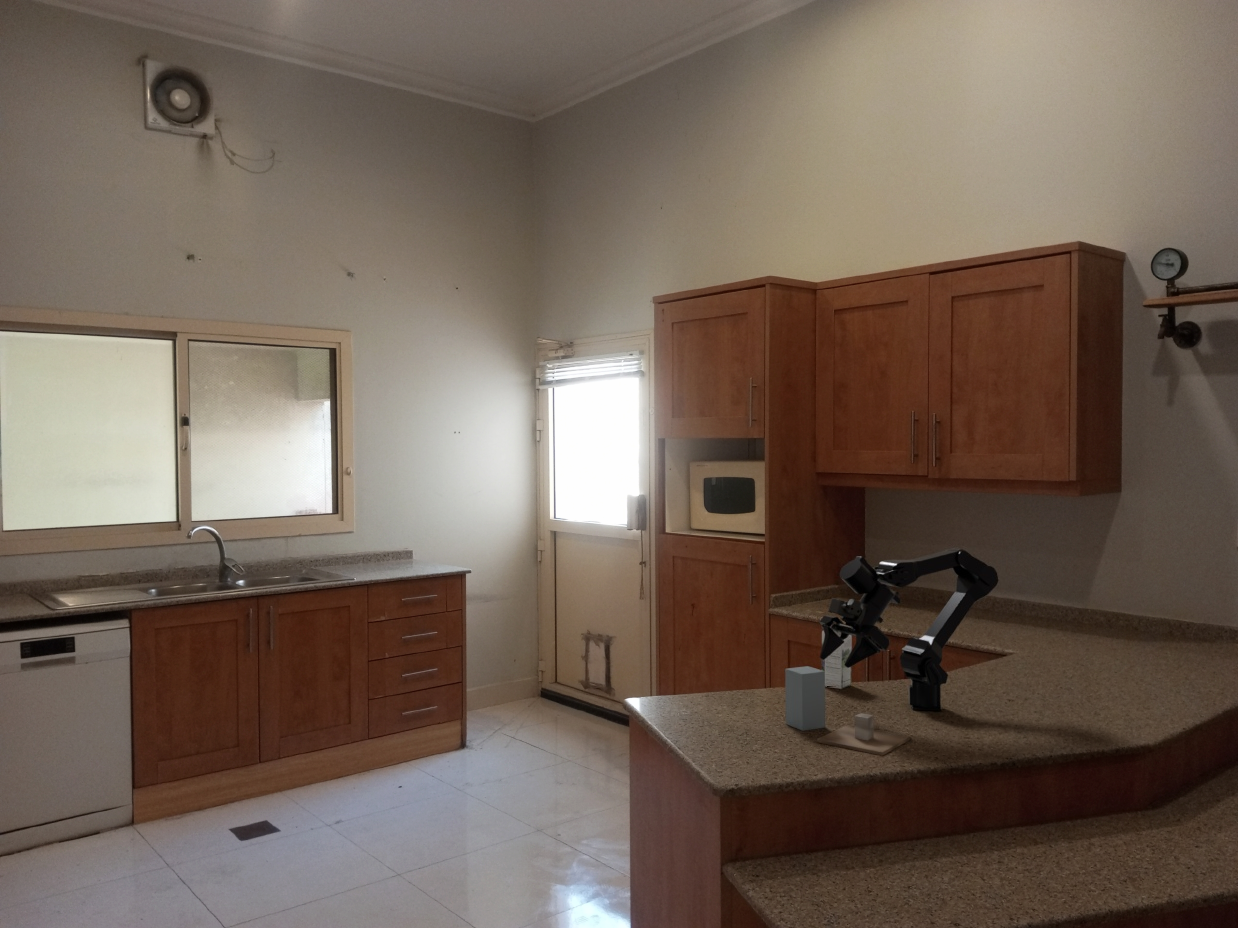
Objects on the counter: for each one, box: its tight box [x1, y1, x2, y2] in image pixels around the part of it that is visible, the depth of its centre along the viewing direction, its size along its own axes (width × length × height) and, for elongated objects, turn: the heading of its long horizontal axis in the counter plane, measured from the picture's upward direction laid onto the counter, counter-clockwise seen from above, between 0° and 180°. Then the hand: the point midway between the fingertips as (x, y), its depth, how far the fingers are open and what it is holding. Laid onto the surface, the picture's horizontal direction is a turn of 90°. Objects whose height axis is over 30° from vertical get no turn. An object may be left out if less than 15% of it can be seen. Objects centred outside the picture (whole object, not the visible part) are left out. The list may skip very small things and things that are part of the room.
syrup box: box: [821, 629, 853, 690], centre depth 237 cm, size 6×6×14 cm
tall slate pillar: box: [784, 665, 826, 732], centre depth 200 cm, size 6×6×12 cm
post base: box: [816, 713, 912, 756], centre depth 189 cm, size 14×14×5 cm
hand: (833, 662), depth 205 cm, fingers open, 9 cm apart
